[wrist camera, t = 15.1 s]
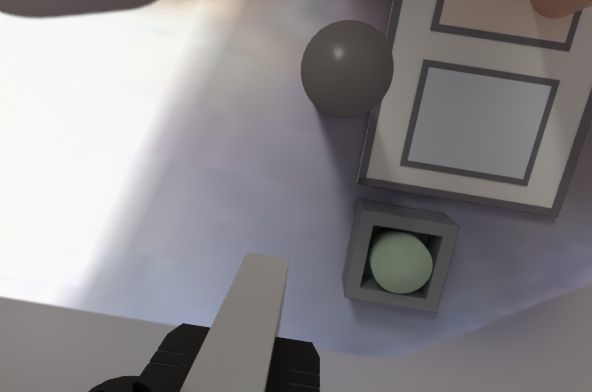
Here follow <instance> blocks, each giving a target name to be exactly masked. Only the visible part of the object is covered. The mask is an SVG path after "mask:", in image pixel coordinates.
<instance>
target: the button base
mask: <svg viewBox="0 0 592 392" xmlns="http://www.w3.org/2000/svg"><path fill="white" fill-rule="evenodd" d="M388 227H389V228H395V229H401V230H407V231H412V232H413V233H414V234H415V235H416V236H417V237H418V238H419V240H420V241H421V242H422V243H423V245H424V246H425V247H426V249H427V250H428V251H429V253H430V255H431V258H432V264H433V266H432V272H431V275H430V277H429V279H428V280H427V282H426V283H425V284H424V285H423V286H422V287H420V288H419V289H417V290H415V291H412V292H409V293H394V292H390V291H388V290H386V289H384V288H383V287H382V286H380V285H379V283H378V282H377V281H376V279H375V277H374V275H373V272H372V269H371V266H370V263H369V260H368V255H367V252H368V247H369V243H370V241H371V239H372V238H373V237H374V235H375V234H377V233H378V232H379V231H381V230H383V229H385V228H388ZM459 228H460V226H459V225H458V224H457V223H455V222H454V221H453V220H452V219H450V218H449V217H448V216H447V215H445V214H443V213H437V212H431V211H425V210H419V209H413V208H407V207H401V206H395V205H389V204H383V203H377V202H371V201H365V200H360V199H358V202H357V206H356V211H355V216H354V221H353V226H352V231H351V236H350V241H349V246H348V251H347V256H346V261H345V266H344V270H343V275H342V282H343V289H344V297H347V298H353V299H358V300H364V301H370V302H375V303H381V304H387V305H393V306H398V307H404V308H410V309H415V310H421V311H427V312H432V313H436V311H437V307H438V304H439V300H440V297H441V293H442V289H443V286H444V282H445V278H446V275H447V271H448V268H449V264H450V260H451V257H452V253H453V250H454V246H455V242H456V239H457V235H458V231H459Z"/></svg>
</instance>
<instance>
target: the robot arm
mask: <svg viewBox="0 0 592 392" xmlns="http://www.w3.org/2000/svg"><path fill="white" fill-rule="evenodd" d="M288 264H289V259H283V258H277V257H270V256H264V255H257V254H251V253H247V254H246V256H245V258H244V260H243V262H242V264H241V266H240V268H239V270H238V272H237V274H236V276H235V279H234V281H233V283H232V285H231V287H230V289H229V291H228V293H227V295H226V297H225V299H224V301H223V303H222V305H221V307H220V310H219V312H218V314H217V316H216V318H215V320H214V322H213V324H212V326H211V328H209V327H203V326H197V325H190V324H184V323H183V324H181V325H180V326H178V327H177V328H175V329H174V330H173V331H171V332H170V333H168V334H167V336H166V337H165V338H164V340H163V342H162V343H161V345H160V346H159V348H158V351H156V352H155V354H154V355H153V357H152V358H151V360H150V363H149V364H147V366H146V367H145V369H144V370H143V372H142V373H141V375H140V376H122V377H118V378H114V379H110V380H107V381H105V382H103V383H101V384H99V385H97V386H95V387H94V388H92V389H91V390H90V391H89V392H320V390H319V389H320V376H319V375H320V357H319V355H318V353H317V351H316V349H315V347H314V345H313V343H312V342H305V341H299V340H293V339H286V338H280V337H278V333H279V327H280V320H281V313H282V306H283V299H284V292H285V285H286V278H287V271H288Z"/></svg>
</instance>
